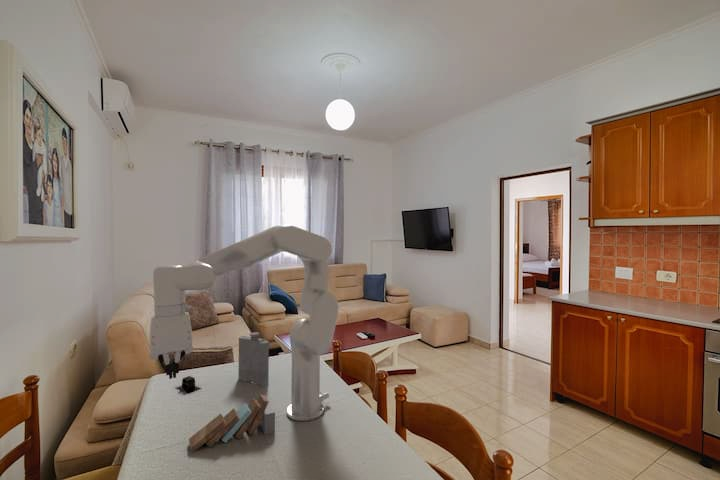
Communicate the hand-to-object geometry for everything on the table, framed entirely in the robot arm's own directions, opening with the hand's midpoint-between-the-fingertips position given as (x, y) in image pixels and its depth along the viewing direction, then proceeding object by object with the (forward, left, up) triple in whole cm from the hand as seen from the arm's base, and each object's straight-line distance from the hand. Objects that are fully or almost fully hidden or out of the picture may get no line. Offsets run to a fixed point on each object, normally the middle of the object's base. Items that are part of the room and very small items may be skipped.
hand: (172, 376), depth 93 cm
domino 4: (-16, +6, -21) cm, 27 cm away
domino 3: (-12, +5, -21) cm, 24 cm away
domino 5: (-20, +7, -21) cm, 29 cm away
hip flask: (-42, -24, -21) cm, 52 cm away
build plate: (-21, -38, -22) cm, 49 cm away
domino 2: (-8, +3, -20) cm, 22 cm away
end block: (-24, +9, -21) cm, 33 cm away
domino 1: (-4, +2, -20) cm, 21 cm away
